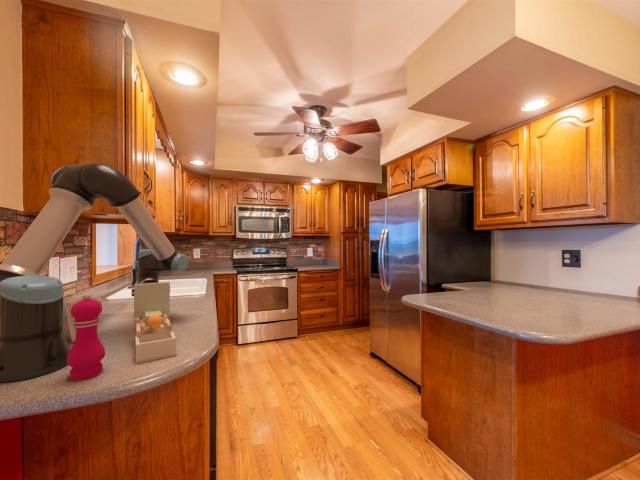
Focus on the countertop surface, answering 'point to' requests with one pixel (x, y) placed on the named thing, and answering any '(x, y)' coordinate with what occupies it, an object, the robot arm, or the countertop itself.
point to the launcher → (144, 329)
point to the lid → (151, 299)
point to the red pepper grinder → (70, 319)
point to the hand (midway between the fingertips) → (154, 297)
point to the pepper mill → (86, 340)
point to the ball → (154, 321)
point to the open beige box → (155, 346)
